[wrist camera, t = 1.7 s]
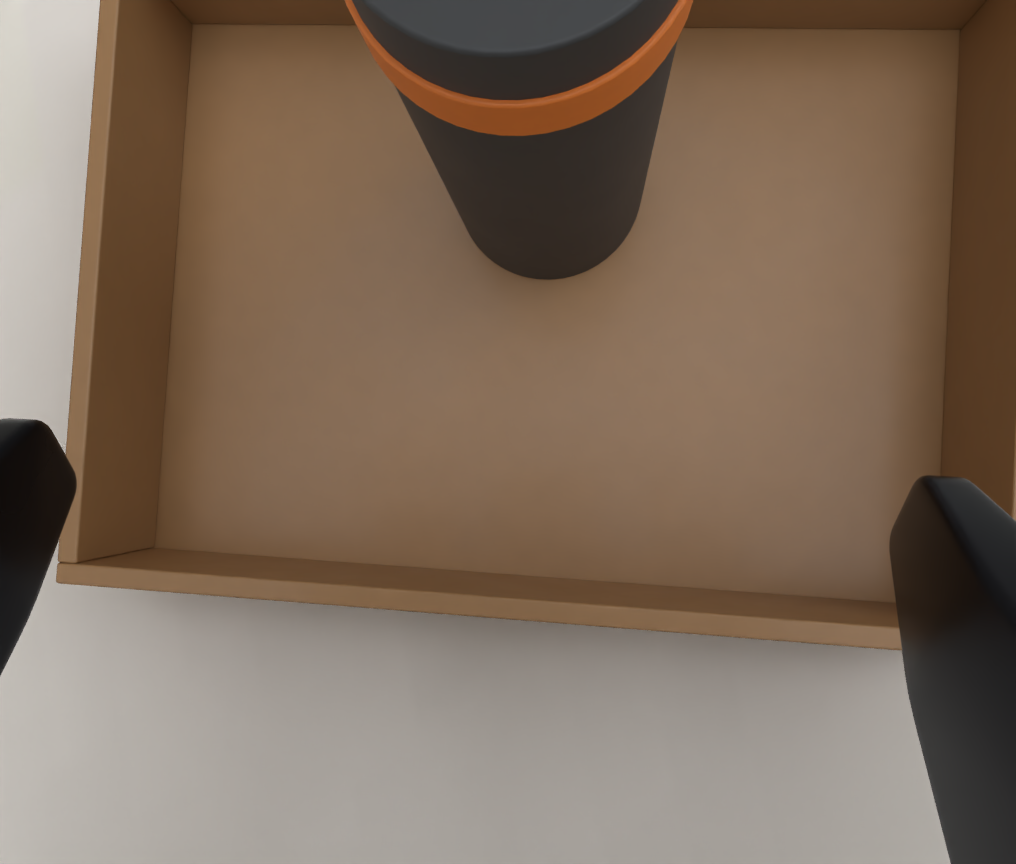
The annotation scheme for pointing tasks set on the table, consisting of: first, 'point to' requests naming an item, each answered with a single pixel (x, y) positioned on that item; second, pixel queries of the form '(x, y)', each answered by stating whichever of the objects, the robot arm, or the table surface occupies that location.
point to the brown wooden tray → (543, 328)
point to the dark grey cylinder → (533, 114)
